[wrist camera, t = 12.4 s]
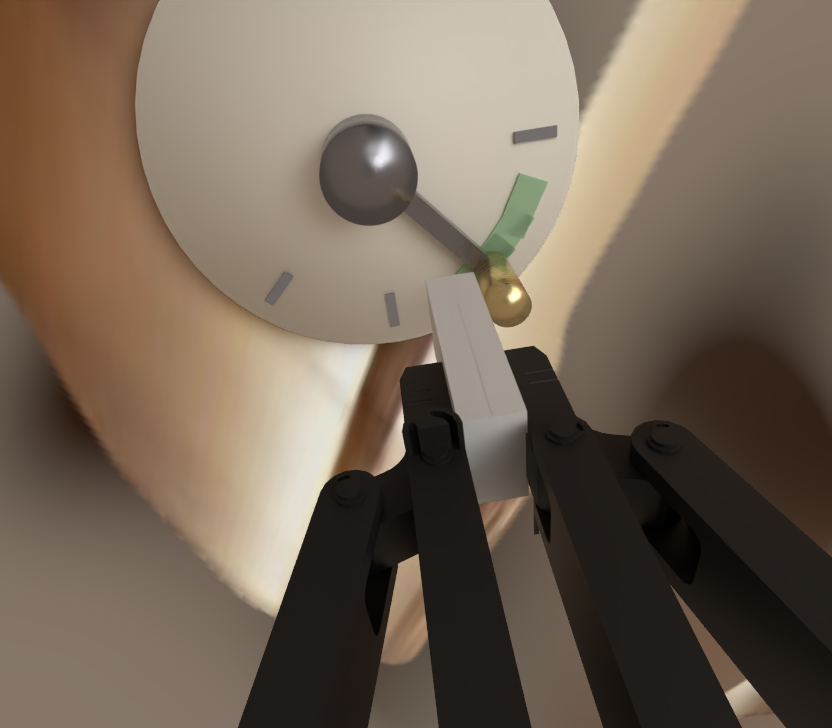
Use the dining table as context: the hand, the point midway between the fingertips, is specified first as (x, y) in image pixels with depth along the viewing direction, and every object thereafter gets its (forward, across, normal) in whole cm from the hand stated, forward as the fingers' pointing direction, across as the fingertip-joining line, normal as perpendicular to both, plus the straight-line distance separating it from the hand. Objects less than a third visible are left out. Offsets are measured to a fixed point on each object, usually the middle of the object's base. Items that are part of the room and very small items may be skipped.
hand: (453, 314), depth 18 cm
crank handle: (+17, +1, -3) cm, 17 cm away
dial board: (+18, -2, 0) cm, 18 cm away
